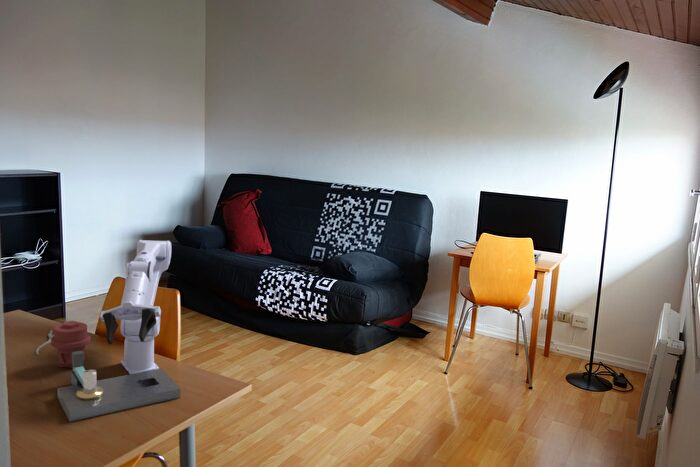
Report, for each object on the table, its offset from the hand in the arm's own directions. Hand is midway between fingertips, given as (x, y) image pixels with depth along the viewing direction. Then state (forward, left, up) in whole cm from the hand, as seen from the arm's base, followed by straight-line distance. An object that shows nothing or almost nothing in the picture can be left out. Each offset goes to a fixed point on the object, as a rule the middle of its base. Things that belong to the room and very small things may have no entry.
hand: (125, 340), depth 145 cm
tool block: (-6, -1, -16) cm, 17 cm away
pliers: (-49, -9, -16) cm, 52 cm away
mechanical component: (-29, -7, -16) cm, 33 cm away
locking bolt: (-11, -8, -12) cm, 18 cm away
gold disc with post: (-3, -8, -16) cm, 18 cm away
